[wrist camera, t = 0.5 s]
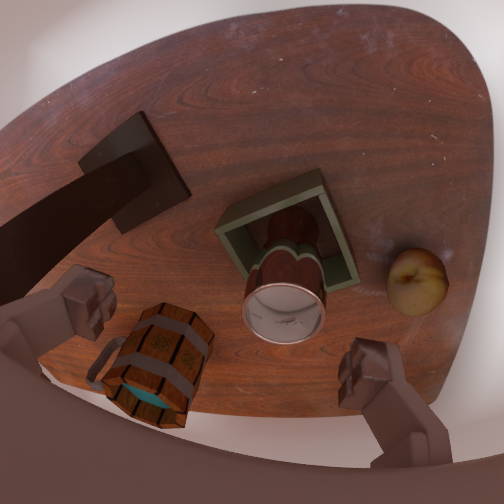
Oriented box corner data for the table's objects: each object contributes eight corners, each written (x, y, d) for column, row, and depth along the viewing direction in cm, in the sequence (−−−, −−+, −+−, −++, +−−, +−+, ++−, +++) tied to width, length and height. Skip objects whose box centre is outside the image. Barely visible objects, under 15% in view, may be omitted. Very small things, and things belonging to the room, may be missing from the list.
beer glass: (331, 244, 36) (340, 334, 23) (279, 263, 38) (263, 354, 26) (307, 193, 33) (307, 267, 20) (253, 217, 36) (221, 297, 23)
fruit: (430, 228, 32) (455, 264, 26) (435, 281, 36) (454, 320, 29) (375, 244, 35) (388, 283, 28) (385, 296, 38) (396, 338, 32)
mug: (203, 302, 44) (167, 383, 31) (224, 361, 50) (201, 435, 38) (102, 301, 48) (57, 362, 36) (131, 354, 55) (99, 413, 42)
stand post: (142, 110, 31) (-74, 198, 8) (191, 195, 36) (42, 375, 13) (81, 160, 35) (-82, 265, 12) (125, 231, 40) (-5, 376, 17)
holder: (319, 167, 32) (322, 184, 26) (354, 253, 36) (361, 282, 31) (227, 207, 36) (213, 229, 31) (270, 282, 40) (264, 312, 35)
